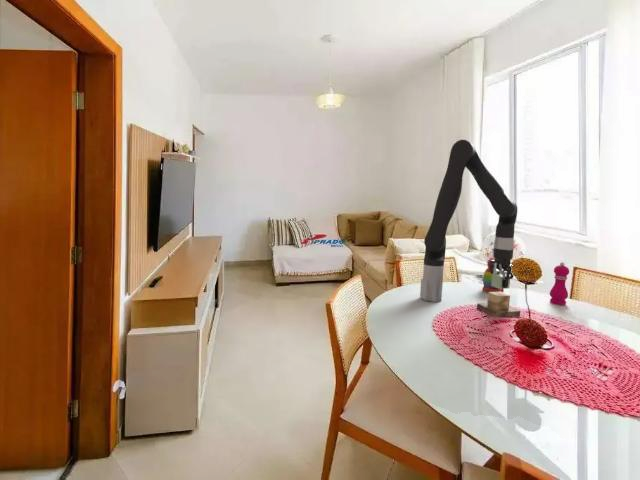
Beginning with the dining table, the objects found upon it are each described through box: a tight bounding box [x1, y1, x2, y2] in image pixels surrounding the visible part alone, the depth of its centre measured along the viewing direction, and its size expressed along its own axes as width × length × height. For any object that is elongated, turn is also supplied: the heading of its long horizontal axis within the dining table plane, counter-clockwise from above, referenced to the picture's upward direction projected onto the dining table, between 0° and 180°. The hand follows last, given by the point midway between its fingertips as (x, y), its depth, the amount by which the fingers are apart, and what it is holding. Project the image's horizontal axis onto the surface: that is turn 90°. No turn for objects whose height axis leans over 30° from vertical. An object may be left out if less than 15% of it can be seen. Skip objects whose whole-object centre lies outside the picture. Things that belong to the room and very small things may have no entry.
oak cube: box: [487, 291, 511, 310], centre depth 152 cm, size 6×6×6 cm
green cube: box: [491, 274, 511, 290], centre depth 151 cm, size 5×5×5 cm
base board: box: [476, 302, 521, 318], centre depth 153 cm, size 12×12×2 cm
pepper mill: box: [549, 261, 570, 306], centre depth 164 cm, size 7×7×20 cm
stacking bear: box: [482, 257, 505, 293], centre depth 184 cm, size 11×10×18 cm
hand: (500, 285), depth 151 cm, fingers closed on green cube, 5 cm apart
